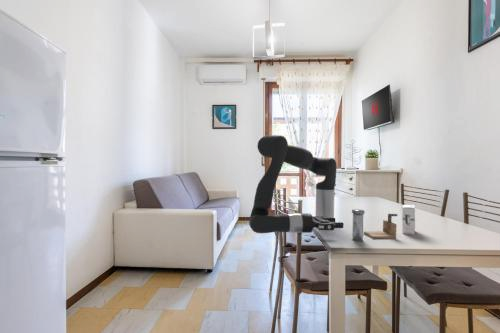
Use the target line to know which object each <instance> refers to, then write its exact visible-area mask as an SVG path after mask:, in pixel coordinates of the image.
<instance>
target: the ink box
mask: <svg viewBox="0 0 500 333" xmlns="http://www.w3.org/2000/svg"><path fill="white" fill-rule="evenodd" d="M415 207H416V205H413V204H402V207H401V211H402V213H401V214H402V216H401V218H402V224H401V225H402V232H401V233H402V234H405V235H412V236H414V235H416V234H415V233H416V211H415V210H416V208H415Z"/></svg>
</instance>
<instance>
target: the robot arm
mask: <svg viewBox="0 0 500 333" xmlns="http://www.w3.org/2000/svg"><path fill="white" fill-rule="evenodd" d="M257 150H258V152H259V154H260V155H261V156H263V157H264V158H267V159H271V160H270V163H269V166H268V168H267V170H266V172H265V173H264V174H263V176H262V177H261V178H260V180H259V182H258V184H257V187H256V188H255V189H256V190H255V194H254V200H253V207H252V210H251V213H250V216H249V227H250V229H251V230H252V231H253V232H254V233H256V234H269V233H270V234H272V233H295V234H296V233H301V234H302V233H307V234H308V233H309V234H310V233H312V232H313V230H314V228H316V229H317V230H318V231H335V229H344V222H342V221H336V217H335V186H336V181H337V179H336V178H337V161H336V160H335V158H333V157H315V156H314V155H313V154H312V152H311V151H310V150H308V149H306V148H304V147H302V146H297V145H292V144H289V143H288V140H287V138H286V137H285V136H284V135H280V134H276V135H275V134H273V135H271V134H270V135H264V136H262V137H261V138H260V139H259V140H258V142H257ZM284 163H286V164H289V165H290V166H293V167H296V168H299V169H302V170H305V171H306V170H307V171H309V172H311V173H312V174H315V175H317V176H324V179H323V180H322V181H319V182H317V183H316V184H315V214H314V215H315V216H313V215H312V214H311V213H289V214H288V213H287V214H285V213H283V214H281V213H280V214H278V213H277V214H273V215H272V214H269V210H270V208H271V206H272V203H273V199H274V197H273V196H274V194H275V187H276V184H277V181H278V178H279V175H280V173H281V170H282V167H283V165H284Z"/></svg>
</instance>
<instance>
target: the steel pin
mask: <svg viewBox="0 0 500 333" xmlns="http://www.w3.org/2000/svg"><path fill="white" fill-rule="evenodd" d="M365 211H366V210H364V209H359V208H358V209H357V208H354V209H351V213H352V232H351V234H352V237H351V238H352V240H353V241H355V242H363V241H364V214H365Z"/></svg>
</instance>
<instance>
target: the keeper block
mask: <svg viewBox="0 0 500 333" xmlns="http://www.w3.org/2000/svg"><path fill="white" fill-rule="evenodd" d="M392 217H398V213H387V219H382V230H379V231H375V230H374V231H373V230H372V231H371V230H369V231H365V230H363V235H365V236H367V237H369V238H371V239H372V240H374V239H375V240H377V239H378V240H384V239H387V240H389V239H390V240H391V239H395V240H396V239H397V223H394V222H392Z"/></svg>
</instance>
